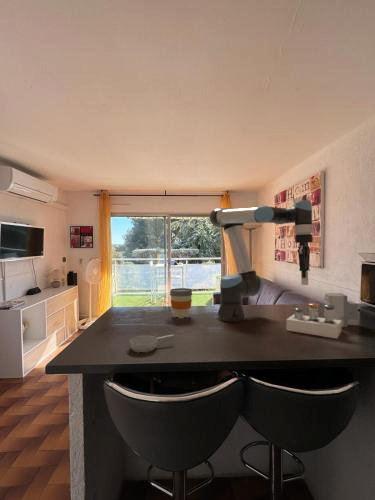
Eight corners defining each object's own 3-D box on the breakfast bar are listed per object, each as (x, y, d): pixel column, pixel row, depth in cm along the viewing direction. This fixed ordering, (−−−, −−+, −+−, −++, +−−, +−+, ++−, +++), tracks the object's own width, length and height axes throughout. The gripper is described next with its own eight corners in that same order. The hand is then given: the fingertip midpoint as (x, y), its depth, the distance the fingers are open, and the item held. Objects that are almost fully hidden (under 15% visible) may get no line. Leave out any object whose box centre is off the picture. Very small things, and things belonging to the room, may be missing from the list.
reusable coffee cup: (196, 315, 160) (196, 289, 160) (184, 320, 150) (184, 292, 150) (178, 312, 167) (178, 287, 167) (165, 317, 157) (165, 290, 156)
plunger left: (292, 327, 132) (292, 309, 132) (295, 325, 135) (295, 307, 135) (302, 329, 129) (302, 310, 129) (305, 326, 133) (304, 308, 133)
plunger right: (322, 325, 124) (322, 306, 124) (324, 323, 128) (324, 304, 128) (334, 327, 122) (333, 307, 121) (335, 325, 125) (335, 305, 125)
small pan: (127, 346, 112) (127, 336, 112) (169, 339, 119) (169, 330, 119) (133, 356, 102) (132, 345, 102) (178, 348, 109) (178, 338, 109)
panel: (286, 330, 130) (286, 319, 130) (293, 324, 139) (293, 314, 139) (337, 338, 117) (337, 326, 117) (341, 331, 127) (341, 320, 127)
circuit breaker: (361, 327, 132) (361, 296, 132) (329, 326, 135) (328, 295, 135) (355, 323, 140) (355, 293, 139) (324, 322, 143) (324, 292, 142)
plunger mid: (307, 323, 128) (307, 304, 128) (309, 321, 131) (309, 302, 131) (317, 325, 125) (317, 305, 125) (319, 322, 129) (319, 303, 129)
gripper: (308, 233, 123) (310, 286, 123) (315, 234, 133) (316, 283, 133) (291, 234, 127) (292, 285, 127) (299, 235, 138) (300, 282, 138)
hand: (304, 284), depth 130 cm, fingers closed
